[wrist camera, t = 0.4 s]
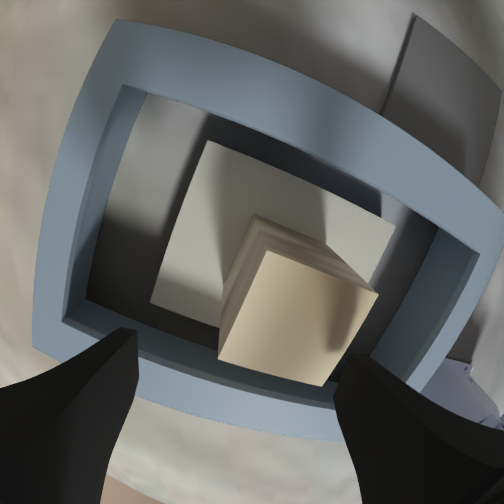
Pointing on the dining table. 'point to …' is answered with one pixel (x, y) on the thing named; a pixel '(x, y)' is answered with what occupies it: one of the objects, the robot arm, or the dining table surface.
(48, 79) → the dining table surface
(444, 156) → the mat
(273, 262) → the birch post
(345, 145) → the box
